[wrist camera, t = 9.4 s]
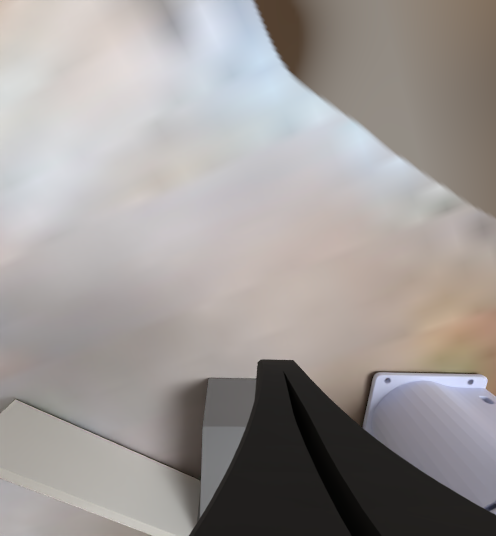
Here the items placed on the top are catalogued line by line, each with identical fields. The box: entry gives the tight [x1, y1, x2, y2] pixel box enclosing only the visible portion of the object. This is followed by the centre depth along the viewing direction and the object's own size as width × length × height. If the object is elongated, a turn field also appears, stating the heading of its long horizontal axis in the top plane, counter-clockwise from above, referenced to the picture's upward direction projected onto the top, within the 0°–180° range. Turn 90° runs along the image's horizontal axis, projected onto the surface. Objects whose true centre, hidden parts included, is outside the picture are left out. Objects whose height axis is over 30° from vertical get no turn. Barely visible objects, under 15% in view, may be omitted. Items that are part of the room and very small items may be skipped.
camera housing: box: [200, 378, 256, 517], centre depth 20 cm, size 7×11×4 cm, turn 176°
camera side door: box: [0, 399, 201, 536], centre depth 19 cm, size 1×16×4 cm, turn 56°
